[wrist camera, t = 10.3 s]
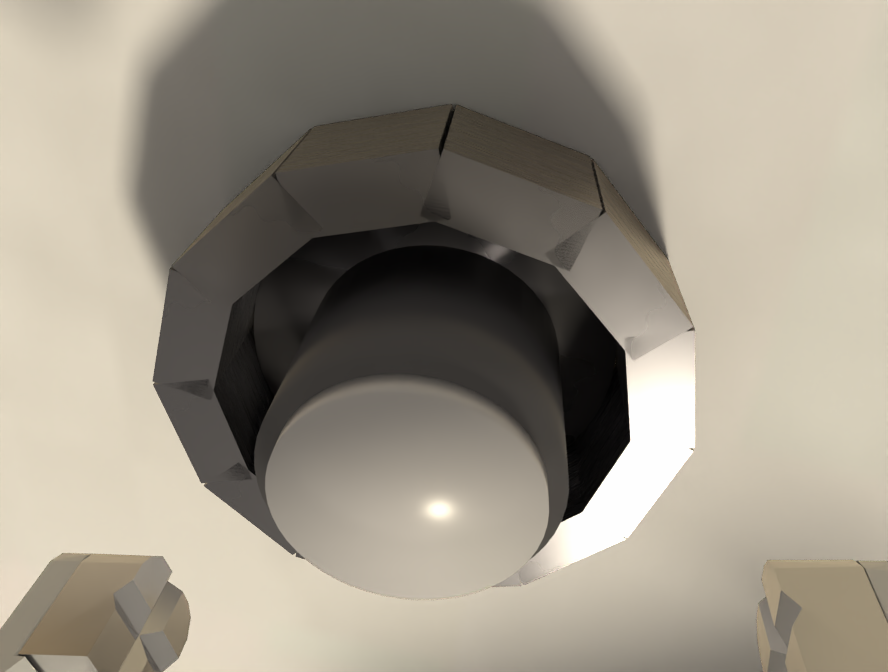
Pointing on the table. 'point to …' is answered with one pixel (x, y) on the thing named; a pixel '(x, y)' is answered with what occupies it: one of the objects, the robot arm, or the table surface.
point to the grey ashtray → (453, 225)
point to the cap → (420, 428)
